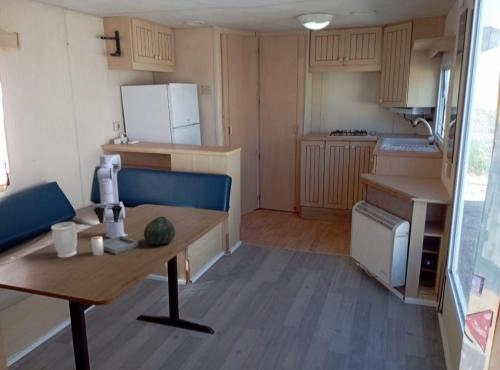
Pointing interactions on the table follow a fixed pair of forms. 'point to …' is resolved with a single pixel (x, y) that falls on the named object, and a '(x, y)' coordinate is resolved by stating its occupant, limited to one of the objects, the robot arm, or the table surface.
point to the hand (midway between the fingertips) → (108, 222)
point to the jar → (64, 239)
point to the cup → (97, 245)
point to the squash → (159, 231)
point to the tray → (119, 244)
